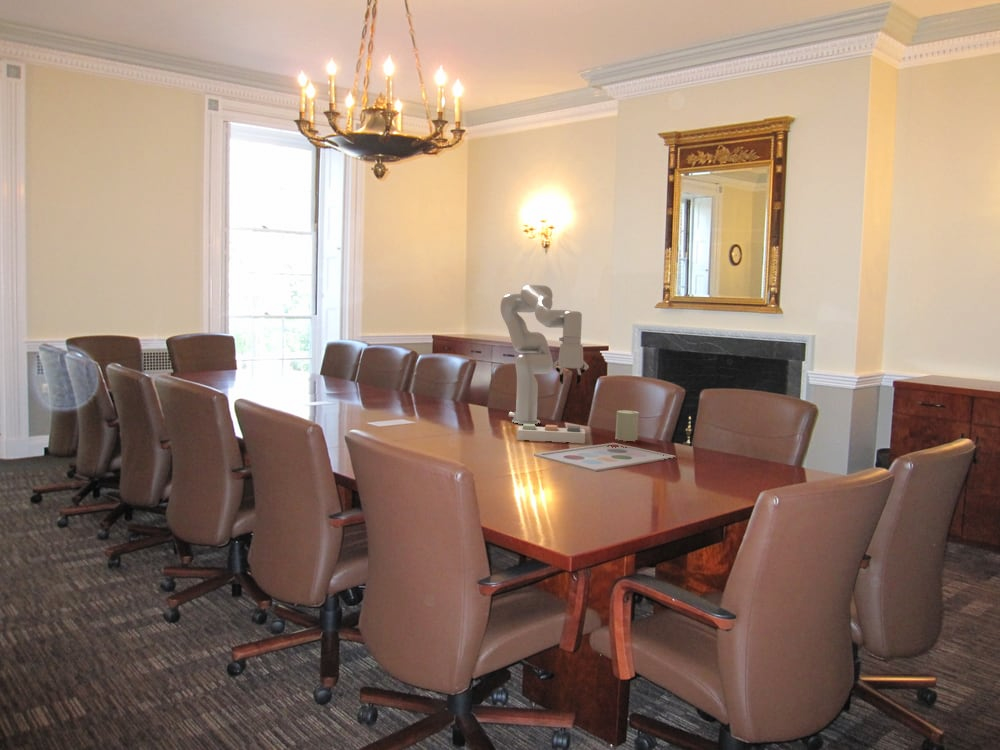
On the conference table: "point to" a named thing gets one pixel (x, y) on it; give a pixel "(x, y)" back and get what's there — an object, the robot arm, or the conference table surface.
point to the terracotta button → (551, 427)
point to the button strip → (551, 435)
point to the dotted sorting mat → (604, 456)
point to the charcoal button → (574, 428)
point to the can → (627, 425)
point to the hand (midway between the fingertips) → (569, 383)
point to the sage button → (529, 426)
